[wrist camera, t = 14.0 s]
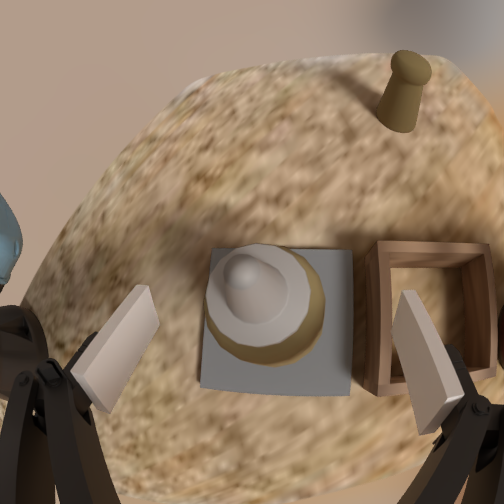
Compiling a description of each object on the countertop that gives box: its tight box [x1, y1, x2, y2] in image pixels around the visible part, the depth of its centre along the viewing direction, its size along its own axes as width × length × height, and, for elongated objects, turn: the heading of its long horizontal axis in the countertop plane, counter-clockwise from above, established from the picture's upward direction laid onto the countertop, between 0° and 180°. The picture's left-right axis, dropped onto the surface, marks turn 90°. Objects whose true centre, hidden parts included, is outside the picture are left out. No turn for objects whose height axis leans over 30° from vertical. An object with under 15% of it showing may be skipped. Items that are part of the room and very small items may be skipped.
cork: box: [376, 50, 432, 133], centre depth 27 cm, size 6×6×11 cm
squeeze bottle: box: [203, 243, 326, 368], centre depth 17 cm, size 8×8×18 cm
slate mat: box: [200, 248, 353, 396], centre depth 26 cm, size 14×14×1 cm
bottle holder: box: [363, 241, 498, 397], centre depth 22 cm, size 13×13×5 cm
